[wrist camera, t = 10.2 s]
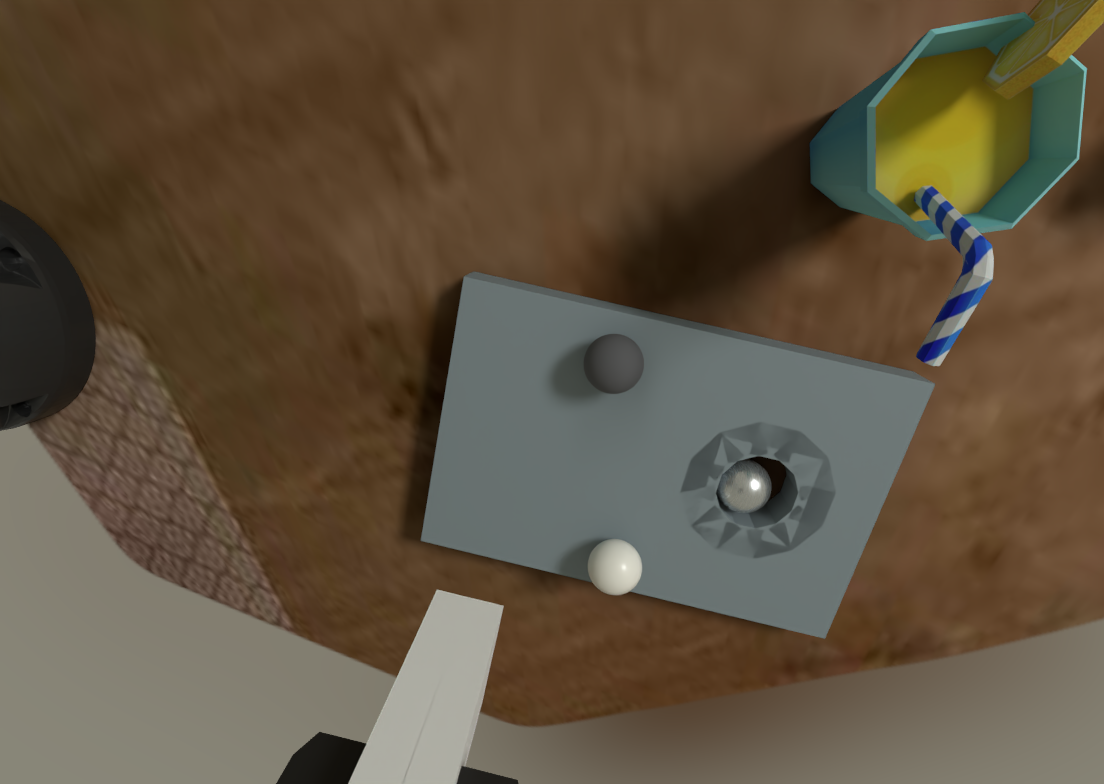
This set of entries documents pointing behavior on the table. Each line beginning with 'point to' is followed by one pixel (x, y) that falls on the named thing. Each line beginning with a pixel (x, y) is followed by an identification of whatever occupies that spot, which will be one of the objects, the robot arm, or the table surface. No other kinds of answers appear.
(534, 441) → the plate
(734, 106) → the table surface
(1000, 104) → the cup
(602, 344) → the matte dark gray ball
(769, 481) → the steel ball
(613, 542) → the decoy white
